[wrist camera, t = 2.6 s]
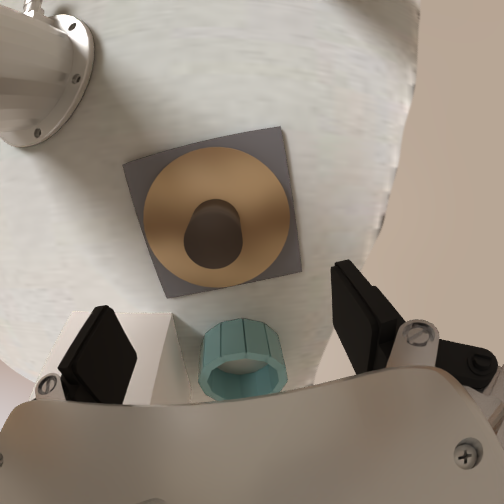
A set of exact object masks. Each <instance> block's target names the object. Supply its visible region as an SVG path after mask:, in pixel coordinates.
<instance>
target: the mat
mask: <svg viewBox="0 0 504 504" xmlns="http://www.w3.org/2000/svg"><path fill="white" fill-rule="evenodd" d="M208 147H225V148H232V149H236V150H240V151H242V152H245V153H247V154H249V155H251V156H253V157H255V158H256V159H258V160H259V161H260V162H262V163H263V164H264V165H266V166H267V167H268V168H269V169H270V170H271V171H272V172H273V173H274V175H275V176H276V177H277V179H278V180H279V182H280V184H281V185H282V187H283V189H284V191H285V194H286V197H287V200H288V205H289V211H290V225H289V231H288V236H287V239H286V242H285V244H284V246H283V248H282V250H281V252H280V254H279V255H278V257H277V258H276V259H275V261H274V262H273V263H272V264H271V265H270V266H269V267H268V268H267V269H266V270H265V271H264V272H262V273H261V274H259V275H258V276H256V277H255V278H253V279H251V280H249V281H247V282H244V283H241V284H246V283H251V282H256V281H260V280H265V279H270V278H275V277H279V276H284V275H288V274H293V273H298V272H302V267H301V259H300V250H299V242H298V235H297V227H296V219H295V212H294V205H293V198H292V192H291V185H290V179H289V172H288V166H287V160H286V154H285V148H284V143H283V137H282V131H281V126H280V127H273V128H267V129H261V130H255V131H249V132H244V133H238V134H233V135H229V136H224V137H219V138H215V139H210V140H206V141H202V142H197V143H193V144H189V145H186V146H182V147H178V148H174V149H171V150H167V151H164V152H160V153H157V154H154V155H150V156H147V157H144V158H141V159H138V160H135V161H132V162H129V163H126V164H123V168H124V172H125V176H126V179H127V183H128V187H129V190H130V194H131V197H132V201H133V204H134V207H135V211H136V214H137V217H138V220H139V223H140V226H141V229H142V232H143V235H144V238H145V241H146V244H147V247H148V250H149V253H150V256H151V258H152V261H153V264H154V267H155V269H156V272H157V275H158V277H159V280H160V282H161V285H162V287H163V290H164V292H165V295H166V297H167V298H173V297H179V296H184V295H189V294H195V293H200V292H205V291H211V290H216V289H221V288H226V287H217V288H214V287H204V286H199V285H195V284H192V283H189V282H187V281H185V280H183V279H181V278H179V277H177V276H176V275H174V274H173V273H171V272H170V271H169V270H168V269H166V268H165V267H164V266H163V264H162V263H161V262H160V261H159V260H158V259H157V257H156V256H155V255H154V253H153V251H152V249H151V248H150V245H149V243H148V240H147V237H146V234H145V230H144V222H143V215H144V205H145V201H146V197H147V194H148V192H149V189H150V187H151V185H152V183H153V182H154V180H155V179H156V177H157V176H158V175H159V174H160V172H161V171H162V170H163V169H164V168H165V167H166V166H167V165H169V164H170V163H171V162H172V161H174V160H175V159H177V158H178V157H180V156H182V155H184V154H186V153H189V152H191V151H194V150H198V149H202V148H208ZM241 284H238V285H241ZM234 286H236V285H234ZM229 287H231V286H229Z"/></svg>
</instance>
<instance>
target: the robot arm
mask: <svg viewBox="0 0 504 504" xmlns="http://www.w3.org/2000/svg"><path fill="white" fill-rule="evenodd" d="M42 1H43V0H24V7H23V10H24V13H21V12H19V11H16V10H14V9H11V8H8V7H6V6H3V5H0V137H1V138H2V139H3V140H4V141H5V142H6V143H8V144H9V145H11V146H15V147H26V146H32V145H36V144H39V143H41V142H43V141H45V140H47V139H48V138H49V137H51V136H52V135H53V134H55V133H56V132H57V131H58V130H59V129H60V128H61V127H62V126H63V125H64V124H65V123H66V121H67V120H68V119H69V117H70V116H71V115H72V113H73V112H74V110H75V109H76V107H77V105H78V103H79V102H80V100H81V98H82V96H83V94H84V91H85V89H86V87H87V85H88V82H89V78H90V75H91V72H92V67H93V61H94V42H93V37H92V34H91V32H90V30H89V28H88V27H87V25H86V24H85V23H84V22H83V21H81V20H79V19H78V18H76V17H74V16H71V15H67V14H58V15H54V16H50V17H46V16H44V10H43V9H42V8H41V4H42ZM79 80H80V81H79ZM331 285H332V312H333V325H334V328H335V330H336V332H337V334H338V336H339V338H340V341H341V343H342V345H343V347H344V349H345V351H346V353H347V355H348V357H349V360H350V362H351V364H352V366H353V368H354V370H355V372H356V375H354V376H349V377H346V378H341V379H337V380H334V381H329V382H325V383H321V384H317V385H312V386H308V387H303V388H298V389H293V390H288V391H283V392H278V393H272V394H266V395H260V396H254V397H247V398H239V399H231V400H222V401H213V402H201V403H187V404H164V405H124V404H123V401H124V398H125V395H126V392H127V389H128V385H129V382H130V379H131V376H132V373H133V371H134V368H135V365H136V362H137V353H136V351H135V350H134V348H133V346H132V344H131V343H130V341H129V339H128V337H127V335H126V333H125V332H124V330H123V328H122V326H121V324H120V322H119V320H118V318H117V316H116V314H115V312H114V310H113V309H112V308H110V307H109V306H107V305H105V306H98V307H95V308H94V310H93V311H92V313H91V314H90V316H89V317H88V319H87V320H86V322H85V323H84V325H83V326H82V328H81V329H80V331H79V333H78V334H77V336H76V337H75V339H74V341H73V342H72V344H71V345H70V347H69V349H68V350H67V352H66V354H65V355H64V357H63V359H62V360H61V362H60V364H59V366H58V367H57V368H58V370H59V371H60V372H61V374H62V375H61V377H60V376H59V375H58V374H56V373H49V374H47V375H45V376H44V377H42V378H41V379H40V380H39V381H38V383H37V385H36V388H35V395H36V398H34V399H33V400H31V401H28V402H25V403H22V404H20V405H18V406H17V407H15V408H14V409H13V411H12V412H11V413H10V415H9V417H8V419H7V420H6V422H5V424H4V426H3V428H2V430H1V432H0V504H504V365H503V366H502V367H500V366H498V362H497V359H496V357H495V356H494V355H493V354H492V353H491V352H490V351H489V350H487V349H484V348H479V347H475V346H470V345H465V344H460V343H455V342H450V341H446V340H442V339H439V332H438V330H437V328H436V327H435V326H434V325H433V324H432V323H429V322H428V321H425V320H418V319H415V320H410V321H407V322H405V321H404V319H403V318H402V317H401V315H400V314H399V313H398V312H397V311H396V309H395V308H394V307H393V306H392V304H391V303H390V302H389V301H388V300H387V299H386V297H385V296H384V295H383V294H382V293H381V291H380V290H379V289H378V288H377V287H376V286H372V285H371V284H370V283H369V282H368V281H367V280H366V278H365V277H364V276H363V275H362V274H361V272H360V271H359V270H358V269H357V268H356V267H355V265H354V264H353V263H352V262H351V261H350V260H344V261H339V262H335V266H333V267H331Z"/></svg>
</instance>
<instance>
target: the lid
mask: <svg viewBox="0 0 504 504" xmlns="http://www.w3.org/2000/svg"><path fill="white" fill-rule="evenodd" d="M143 222H144V230H145V234H146V237H147V240H148V243H149V245H150V248H151V249H152V251H153V253H154V255H155V256H156V257H157V259H158V260H159V261H160V262H161V263H162V264H163V266H164V267H165V268H166V269H168V270H169V271H170V272H171V273H173V274H174V275H176V276H177V277H179V278H181V279H183V280H185V281H187V282H189V283H192V284H195V285H199V286H204V287H214V288H217V287H229V286H234V285H238V284H241V283H244V282H247V281H249V280H251V279H253V278H255V277H256V276H258V275H259V274H261V273H262V272H264V271H265V270H266V269H267V268H268V267H269V266H270V265H271V264H272V263H273V262H274V261H275V259H276V258H277V257H278V255H279V254H280V252H281V250H282V248H283V246H284V244H285V242H286V239H287V236H288V231H289V225H290V211H289V205H288V200H287V197H286V194H285V191H284V189H283V187H282V185H281V184H280V182H279V180H278V179H277V177H276V176H275V175H274V173H273V172H272V171H271V170H270V169H269V168H268V167H267V166H266V165H264V164H263V163H262V162H260V161H259V160H258V159H256V158H255V157H253V156H251V155H249V154H247V153H245V152H242V151H240V150H236V149H232V148H225V147H208V148H202V149H198V150H194V151H191V152H189V153H186V154H184V155H182V156H180V157H178V158H177V159H175V160H174V161H172V162H171V163H170V164H169V165H167V166H166V167H165V168H164V169H163V170H162V171H161V172H160V174H159V175H158V176H157V177H156V179H155V180H154V182H153V183H152V185H151V187H150V189H149V192H148V194H147V197H146V201H145V205H144V215H143Z"/></svg>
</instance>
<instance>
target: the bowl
mask: <svg viewBox="0 0 504 504" xmlns="http://www.w3.org/2000/svg"><path fill="white" fill-rule="evenodd" d="M287 380H288V379H287V373H286V367H285V363H284V359H283V355H282V351H281V346H280V342H279V338H278V335H277V333H275V332H274V331H273V330H272V329H271V328H270V327H268V326H267V325H266V324H265V323H262V322H258V321H253V320H248V319H243V320H242V319H236V320H231V321H226V322H222V323H219V324H218V325H216V326H215V327H214V328H212V329H211V330H210V331H208V332H207V333H206V334H205V336H204V339H203V342H202V345H201V349H200V361H199V375H198V382H199V384H200V386H201V388H202V390H203V392H204V393H205V394H206V395H207V396H209V397H211V398H213V399H215V400H216V401H222V400H231V399H239V398H247V397H254V396H260V395H266V394H272V393H278V392H280V391H281V390H282V388H283V387H284V385H285V384H286V383H287Z"/></svg>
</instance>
